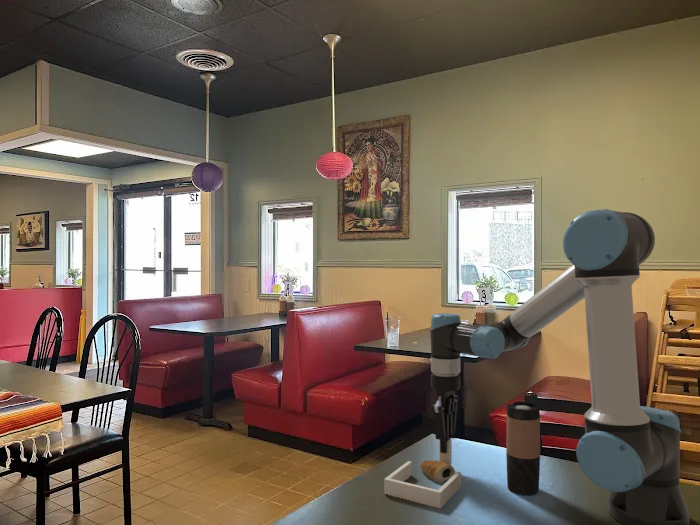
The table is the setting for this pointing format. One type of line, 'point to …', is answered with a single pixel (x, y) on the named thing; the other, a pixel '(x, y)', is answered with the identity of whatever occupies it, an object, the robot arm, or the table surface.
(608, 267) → the robot arm
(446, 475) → the pastry
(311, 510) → the table surface
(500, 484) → the table surface
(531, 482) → the travel mug
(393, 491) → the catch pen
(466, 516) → the table surface
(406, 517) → the table surface
